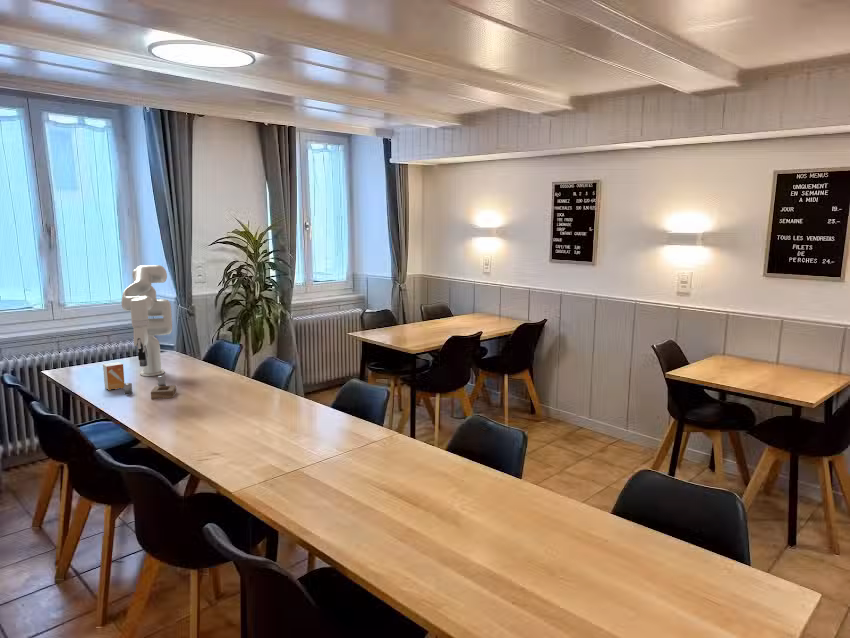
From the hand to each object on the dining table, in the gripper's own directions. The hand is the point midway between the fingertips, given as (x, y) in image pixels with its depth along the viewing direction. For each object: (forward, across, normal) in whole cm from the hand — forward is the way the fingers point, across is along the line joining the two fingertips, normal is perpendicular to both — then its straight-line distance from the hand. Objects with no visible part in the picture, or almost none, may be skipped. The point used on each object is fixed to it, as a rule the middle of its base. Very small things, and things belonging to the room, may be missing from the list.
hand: (143, 358), depth 293 cm
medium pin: (+18, +1, +8) cm, 20 cm away
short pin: (+18, +1, -8) cm, 20 cm away
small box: (+18, -10, -17) cm, 27 cm away
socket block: (+18, +8, +10) cm, 22 cm away
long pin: (+4, 0, 0) cm, 4 cm away
